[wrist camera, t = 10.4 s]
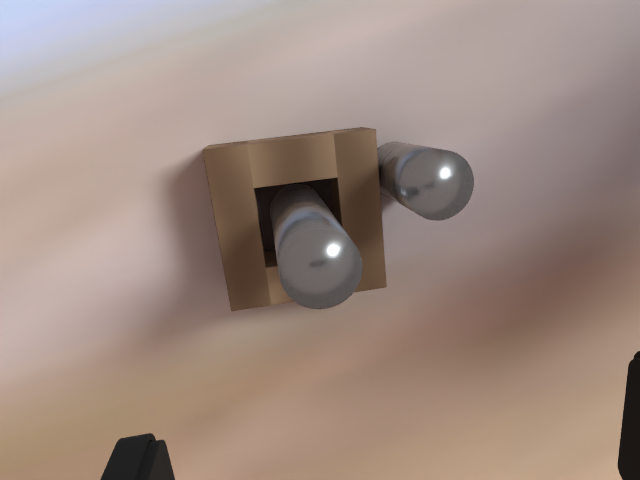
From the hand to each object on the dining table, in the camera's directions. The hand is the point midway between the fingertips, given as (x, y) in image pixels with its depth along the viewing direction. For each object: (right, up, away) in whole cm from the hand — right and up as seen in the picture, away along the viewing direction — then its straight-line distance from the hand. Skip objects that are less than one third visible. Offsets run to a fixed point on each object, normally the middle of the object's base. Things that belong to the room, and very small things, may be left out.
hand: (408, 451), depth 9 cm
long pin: (-3, +6, +22) cm, 23 cm away
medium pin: (+3, +9, +22) cm, 24 cm away
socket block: (-3, +6, +22) cm, 23 cm away
